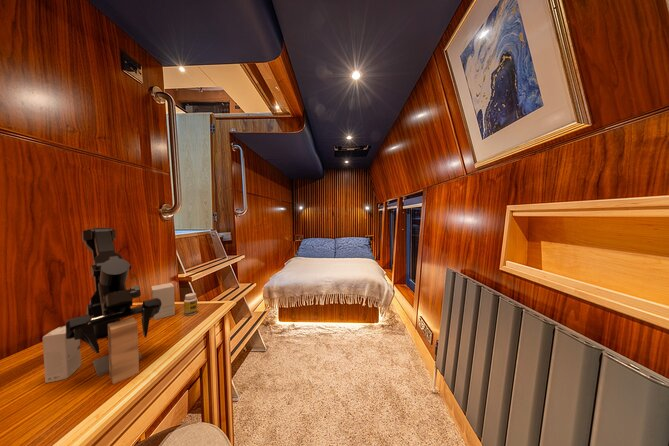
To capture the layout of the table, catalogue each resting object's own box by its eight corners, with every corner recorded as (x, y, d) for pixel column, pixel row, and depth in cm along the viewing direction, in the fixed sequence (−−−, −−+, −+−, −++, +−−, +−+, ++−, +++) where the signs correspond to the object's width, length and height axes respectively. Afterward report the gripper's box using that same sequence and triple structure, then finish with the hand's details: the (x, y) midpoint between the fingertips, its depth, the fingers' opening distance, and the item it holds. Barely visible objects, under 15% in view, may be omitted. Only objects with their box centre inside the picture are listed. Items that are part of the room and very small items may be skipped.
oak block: (109, 375, 58) (107, 324, 58) (134, 365, 62) (132, 317, 62) (113, 384, 55) (110, 329, 55) (139, 373, 59) (137, 322, 59)
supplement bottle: (190, 316, 92) (190, 296, 92) (181, 315, 93) (181, 296, 93) (200, 311, 97) (199, 293, 97) (191, 310, 98) (190, 292, 98)
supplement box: (173, 309, 99) (172, 282, 99) (175, 315, 94) (174, 286, 93) (151, 314, 94) (151, 285, 94) (152, 320, 89) (152, 290, 88)
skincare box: (68, 378, 57) (66, 333, 57) (43, 384, 55) (40, 337, 55) (82, 364, 63) (80, 322, 62) (60, 369, 61) (58, 326, 60)
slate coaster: (93, 363, 63) (93, 360, 63) (134, 348, 70) (134, 345, 70) (97, 376, 58) (97, 373, 58) (142, 358, 65) (141, 356, 65)
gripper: (64, 287, 54) (68, 347, 47) (158, 271, 68) (172, 315, 62) (63, 311, 58) (68, 368, 52) (152, 291, 73) (164, 334, 67)
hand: (123, 344), depth 58 cm, fingers open, 9 cm apart
